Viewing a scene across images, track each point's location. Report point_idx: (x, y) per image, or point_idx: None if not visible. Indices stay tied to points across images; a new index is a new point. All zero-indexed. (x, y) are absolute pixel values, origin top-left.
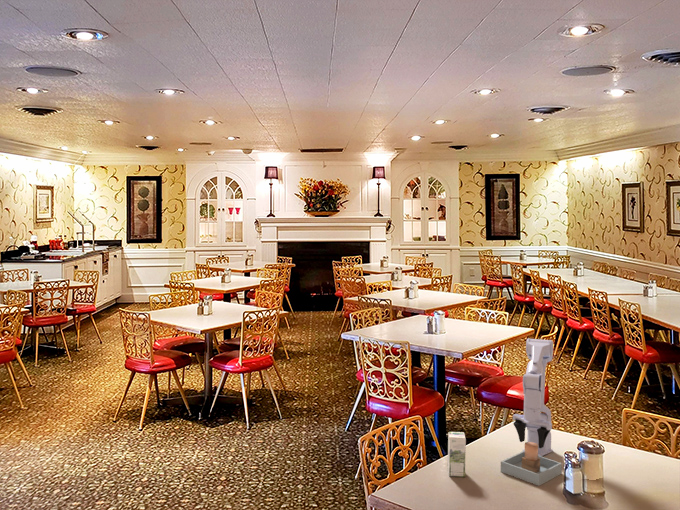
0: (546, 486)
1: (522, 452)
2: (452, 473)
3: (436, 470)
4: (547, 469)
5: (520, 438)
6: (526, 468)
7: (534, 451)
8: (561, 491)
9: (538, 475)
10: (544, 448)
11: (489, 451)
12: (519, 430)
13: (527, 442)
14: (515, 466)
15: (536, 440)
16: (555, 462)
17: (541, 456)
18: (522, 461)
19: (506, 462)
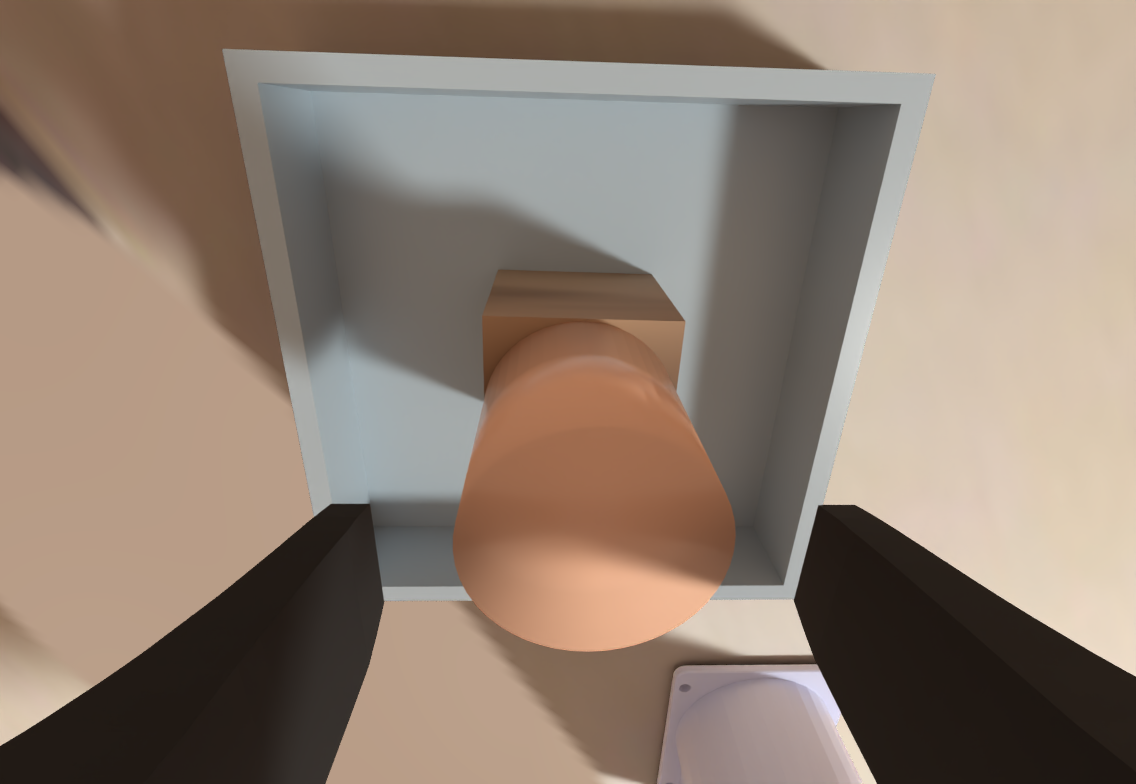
0: (236, 133)
1: (793, 553)
2: None
3: None
4: (299, 340)
5: (880, 546)
6: (588, 282)
7: (483, 436)
8: (45, 141)
9: (236, 50)
10: (686, 767)
11: (1121, 481)
12: (1113, 745)
13: (706, 576)
14: (663, 72)
15: None
16: (396, 581)
17: (673, 676)
18: (661, 306)
19: (857, 200)
